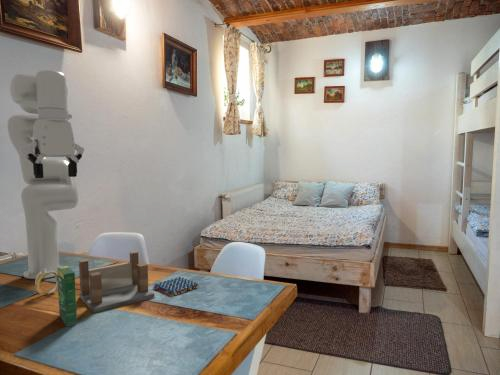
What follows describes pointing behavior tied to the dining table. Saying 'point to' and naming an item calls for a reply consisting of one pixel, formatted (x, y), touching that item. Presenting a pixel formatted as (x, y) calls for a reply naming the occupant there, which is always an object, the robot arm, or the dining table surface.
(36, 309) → the dining table surface
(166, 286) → the woven mat
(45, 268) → the bracelet
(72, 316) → the coffee box
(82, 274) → the wooden block stand
